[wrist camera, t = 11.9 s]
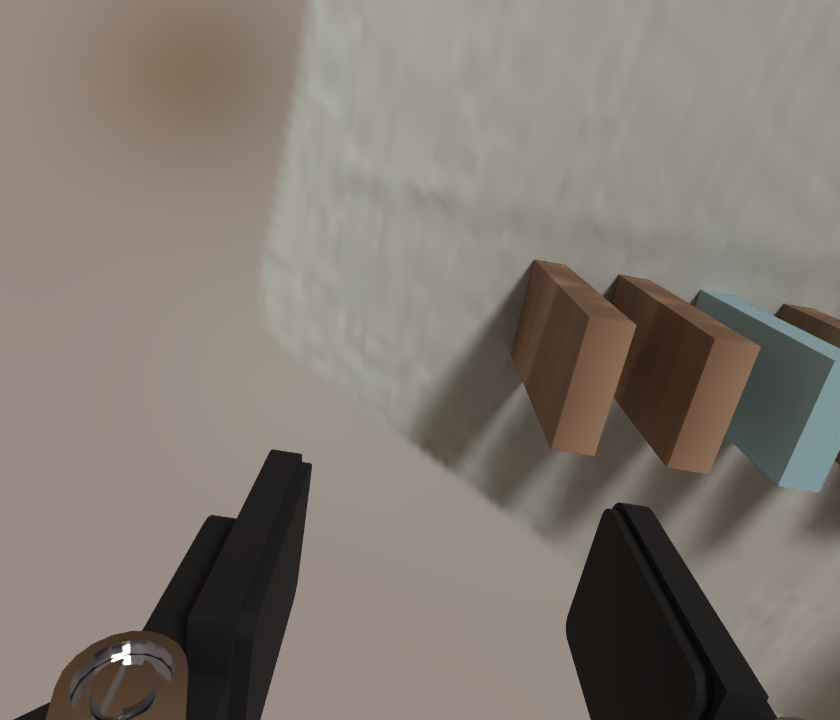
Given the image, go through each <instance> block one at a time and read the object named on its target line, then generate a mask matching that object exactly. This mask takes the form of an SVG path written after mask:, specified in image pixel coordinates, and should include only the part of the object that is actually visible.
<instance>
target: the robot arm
mask: <svg viewBox="0 0 840 720" xmlns="http://www.w3.org/2000/svg"><path fill="white" fill-rule="evenodd" d="M311 470H312V464H311V463H305V462H302V454H299V453H292V452H286V451H279V450H271V451H270V452H269V455H268V457H267V459H266V460H265V463H264V465H263V467H262V469H261V471H260V473H259V475H258V477H257V479H256V481H255V483H254V485H253V487H252V489H251V491H250V493H249V495H248V497H247V499H246V501H245V503H244V505H243V507H242V509H241V511H240V513H239V515H238V517H237V519H235V518H228V517H222V516H215V515H211V516H209V517H208V518H207V519H206V521H205V522H204V524H203V526H202V527H201V529H200V531H199V533H198V534H197V536H196V538H195V540H194V541H193V543H192V545H191V547H190V549H189V550H188V552H187V553H186V555H185V557H184V559H183V561H182V562H181V564H180V566H179V567H178V569H177V571H176V573H175V575H174V576H173V578H172V580H171V581H170V583H169V585H168V587H167V588H166V590H165V592H164V594H163V595H162V597H161V599H160V601H159V603H158V604H157V606H156V608H155V609H154V611H153V613H152V614H151V616H150V618H149V620H148V621H147V623H146V625H145V627H144V629H143V630H142V631H129V632H125V633H120V634H115V635H111V636H109V637H107V638H105V639H103V640H100V641H98V642H96V643H94V644H92V645H90V646H89V647H88V648H86V649H85V650H84V651H82V652H81V653H79V654H78V655H76V656H75V657H74V659H73V660H72V661H71V662H70V663H69V664H68V665H67V666H66V668H65V669H64V670H63V671H62V673H61V675H60V677H59V679H58V681H57V684H56V686H55V688H54V691H53V695H52V698H51V702H49V703H47V704H45V705H43V706H41V707H39V708H37V709H35V710H33V711H31V712H29V713H26V714H25V715H22V716H20V717H18V718H16V719H14V720H260V719H261V715H262V712H263V708H264V705H265V701H266V697H267V694H268V690H269V686H270V683H271V679H272V676H273V672H274V669H275V665H276V662H277V658H278V655H279V651H280V647H281V644H282V640H283V636H284V633H285V630H286V626H287V622H288V618H289V615H290V612H291V608H292V605H293V601H294V597H295V592H296V587H297V581H298V574H299V566H300V558H301V550H302V542H303V534H304V526H305V518H306V510H307V502H308V494H309V486H310V478H311ZM566 636H567V640H568V644H569V647H570V651H571V654H572V657H573V661H574V664H575V667H576V671H577V674H578V678H579V681H580V685H581V688H582V691H583V695H584V698H585V702H586V705H587V708H588V712H589V715H590V719H591V720H803V719H800V718H796V717H779V718H777V717H776V715H775V713H774V712H773V710H772V709H771V707H770V705H769V704H768V702H767V699H768V698H769V697H768V695H767V693H766V692H765V690H764V689H763V687H762V686H761V684H760V682H759V681H758V679H757V678H756V676H755V674H754V673H753V671H752V670H751V668H750V666H749V665H748V663H747V662H746V660H745V658H744V657H743V655H742V654H741V652H740V650H739V649H738V647H737V646H736V644H735V642H734V641H733V639H732V638H731V636H730V634H729V633H728V631H727V630H726V628H725V626H724V625H723V623H722V622H721V620H720V618H719V617H718V615H717V614H716V612H715V611H714V609H713V607H712V606H711V604H710V603H709V601H708V599H707V598H706V596H705V595H704V593H703V591H702V590H701V588H700V587H699V585H698V583H697V582H696V580H695V579H694V577H693V575H692V574H691V572H690V571H689V569H688V567H687V566H686V564H685V563H684V561H683V559H682V558H681V556H680V555H679V553H678V551H677V550H676V548H675V547H674V545H673V543H672V542H671V540H670V539H669V537H668V536H667V534H666V532H665V531H664V529H663V528H662V526H661V524H660V523H659V521H658V520H657V518H656V516H655V515H654V513H653V512H652V510H651V509H650V508H648V507H645V506H638V505H632V504H625V503H617V504H615V505H614V507H613V508H612V509H606V510H605V511H604V512H603V514H602V517H601V519H600V522H599V525H598V528H597V531H596V534H595V537H594V540H593V543H592V546H591V549H590V552H589V555H588V558H587V561H586V564H585V566H584V569H583V572H582V575H581V578H580V581H579V584H578V587H577V590H576V593H575V596H574V599H573V602H572V605H571V608H570V611H569V614H568V617H567V622H566Z"/></svg>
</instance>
